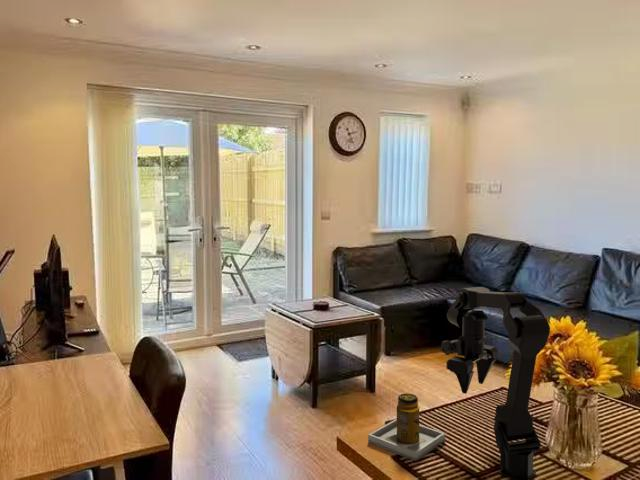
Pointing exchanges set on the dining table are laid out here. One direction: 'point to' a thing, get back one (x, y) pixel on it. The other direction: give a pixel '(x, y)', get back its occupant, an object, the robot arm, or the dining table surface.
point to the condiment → (407, 422)
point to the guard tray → (411, 452)
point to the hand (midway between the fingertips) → (472, 388)
